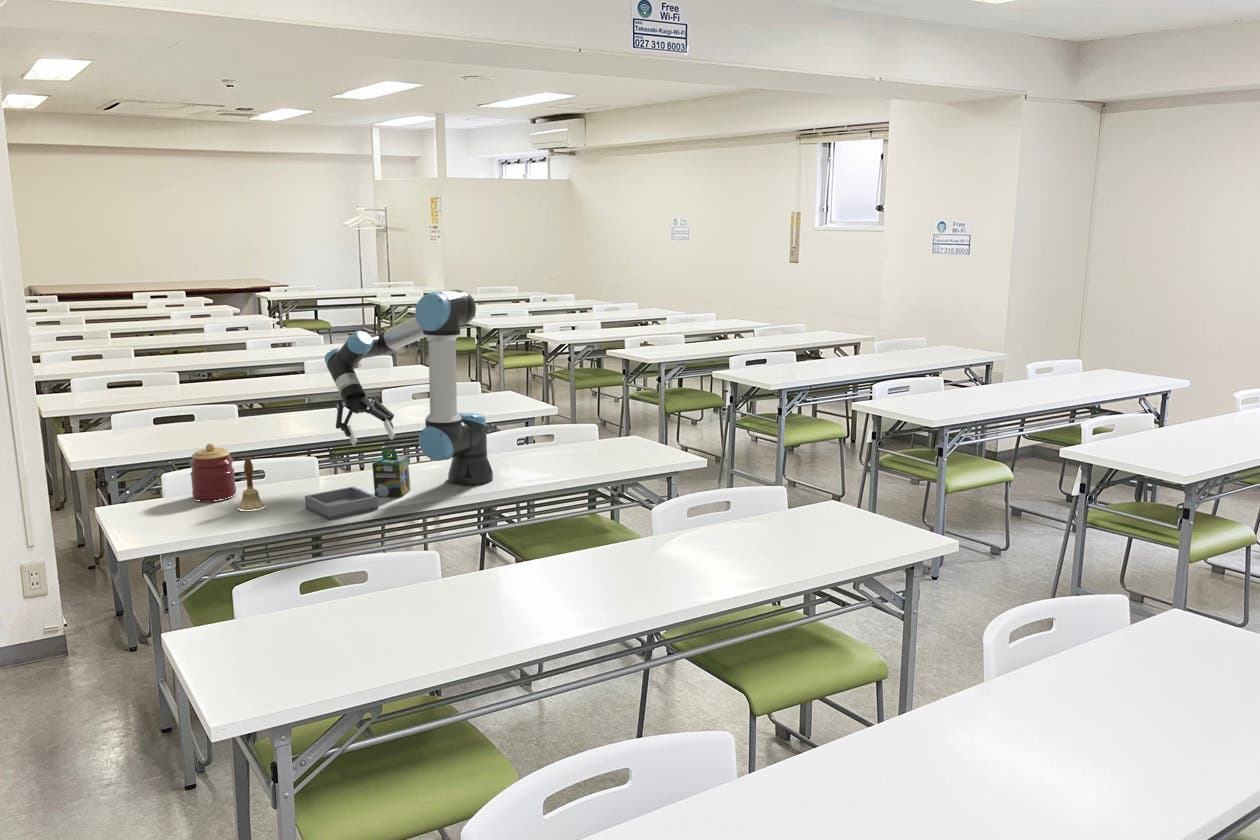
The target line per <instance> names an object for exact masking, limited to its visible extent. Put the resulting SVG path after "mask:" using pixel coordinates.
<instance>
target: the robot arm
mask: <svg viewBox="0 0 1260 840" xmlns="http://www.w3.org/2000/svg"><path fill="white" fill-rule="evenodd" d="M414 311H415V312H414V315H415V316H413V317H412V318H410V319H407V320H405V321H403V322H401V323H399V324H396V325H394V326H392V327H389V328H387V329H385V330H383V331H380V332H378V333H376V334H375V333H373V334H369V333H367V332H366V331H362V330H356V331H355V332H353V333H352V334H351V335H350V336H349V337H348V338H347V340H346V341H345V342H344V343H343V345H342V346H341V347H340V348H339V347H338V348H332V349H331V350H330V351H328V352H327V353H326V354H325V356H324V361H325V365H326V368H327V370H328V372H329V373H330V376H331V377H332V380H333V382H334V384H335V386H336V389H337V391H338V393H339V395H340V398H341V399H342V401H343V402H342V401H341V400H338V402H336V403H337V404H336V406H335V407H336V410H337V413H336V420H335V421H336V422H335V429H337V430H339V429H340V430H341V431H342V432H343V433H344V435H345V436H346V437H348V439H349V440H350V443H351V445H352V446H353V447H354V446H356V445H357V442H358V439H357V436H356V435H355V432H354V430H353V428H352V426H351V424H349V422H350V419H351V417H352V416H353V414H362V413H363V414H364V413H366V414H370V415H372V416H373V417H374V418H377V419H379V420H380V421H382V422H383V426H384V428H385V430H386V432H387V435H388V437H389V440H394V438H395V436H396V434H395V431H394V425H393V422H392V421H393V419H394V417H395V415H394V413H392V411H390V410H389V409H388V408H387V407H386V406H385V405H384V404H382V403H381V402H380V401H379V400H378V398H377V396H374V395H373V396H372V398H368V397H367V396H366V392H365V390H364V388H363V386H362V384H361V382H360V380H359V377H358V376H357V374H356V372H355V367H356V366H358V364H359V363H360V361H362V360H363V359H367V358H373V357H378V356H386V355H387V356H388V355H390V354H393V353H396V351H397V350H398V349H400V348H403V347H405V346H407V345H409V344H412V343H415V342H417V341H419V340H421V339H423V338H426V339H427V341H428V342H427V344H428V346H427V347H428V382H429V385H428V386H429V414H428V415H427V416H426V417H425V418H424V419H425V423H424V425H425V427H424V428H423V429H422V430H421V431H420V432H419V434H418V444H419V447H420V450H421V452H422V453H423V454H424V455H425V456H426V457H427V458H428V459H430V460H432V461H435V462H436V461H437V462H441V461H446V460H449V459H451V458H452V459H451V461H450V462H451V464H450V466H449V471H448V474H447V480H448V483H450V482H451V484H452V483H454V485H457V484H460V485H459V486H473V485H472V484H477V485H482V484H481V483H483V484H487V483H489V481H490V482H491V480H492V479H494V474H493V473H494V472H493V469H492V466H491V464H490V462H489V459H488V440H487V438H488V437H487V427H488V425H487V422H486V421H487V419H486V417H485V415H484V414H481V413H474V412H472V413H471V412H458V408H457V407H458V405H457V404H458V400H457V398H458V397H457V351H456V350H457V348H456V347H457V344H456V342H457V341H456V340H457V339H458V337H460V335H461V327H463V326H465V325H467V324H470V322H472V321H473V319H474V317H475V315H476V313H477V312H476V311H477V305H476V302H475V299H474V297H472V295H471V294H469V293H468V292H467V291H465V290H460V289H452V290H445V291H443V290H442V291H432V292H430V293H426V294H424V295H422V296H421V298H420V299H419V300H418V302H417V303H416V306H415V310H414ZM344 408H346V409H347V410H349V411H348V413H347V415H346V417H345V419H344V421H342V420H343V411H344ZM492 481H493V480H492ZM486 482H487V483H486Z"/></svg>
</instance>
